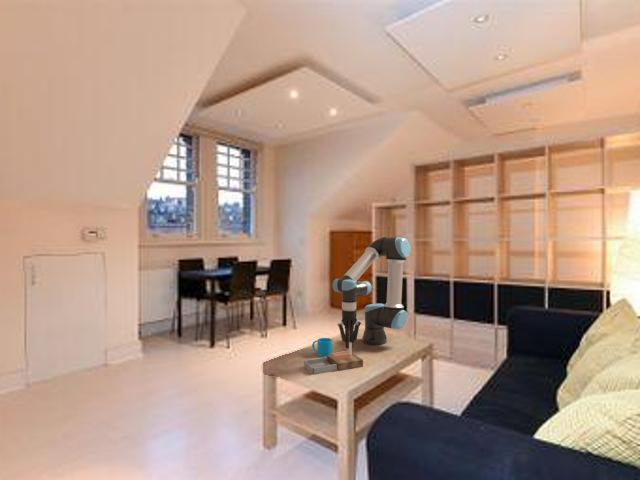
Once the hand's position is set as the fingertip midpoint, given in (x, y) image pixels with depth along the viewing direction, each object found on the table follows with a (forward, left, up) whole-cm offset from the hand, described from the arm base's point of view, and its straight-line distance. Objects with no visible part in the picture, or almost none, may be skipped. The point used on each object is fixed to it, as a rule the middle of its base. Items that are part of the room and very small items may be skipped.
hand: (349, 354), depth 207 cm
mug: (+7, -20, -5) cm, 22 cm away
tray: (+17, 0, -5) cm, 17 cm away
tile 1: (+7, 0, -1) cm, 8 cm away
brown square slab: (+3, 0, -5) cm, 6 cm away
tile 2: (+3, 0, -1) cm, 3 cm away
